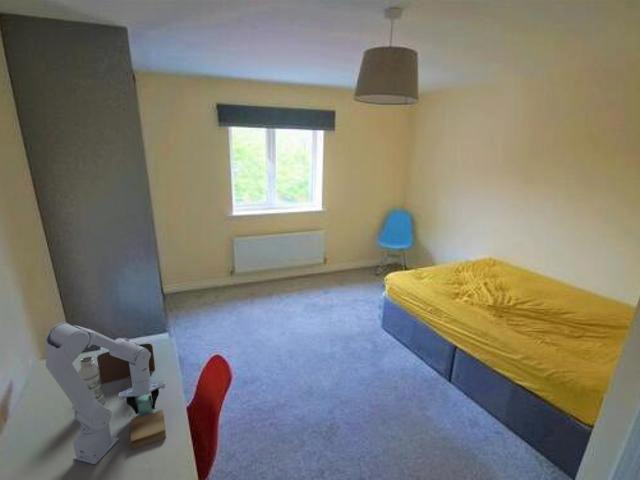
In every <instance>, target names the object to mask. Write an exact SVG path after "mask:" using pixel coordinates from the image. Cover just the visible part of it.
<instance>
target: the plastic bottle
mask: <svg viewBox="0 0 640 480" xmlns="http://www.w3.org/2000/svg"><path fill="white" fill-rule="evenodd" d="M77 372H78V373H79V375H80V376H81V378H82V380H83V381H84V383H85V384H86V386H87V387H88V389H89V390H90V392H91V393H92V395H93V396H94V398H95V399H96V400H97V401H98V402H99V403H100V404H101V405H103V406H104V404H105V402H106V397H105V394H104V391H103V389H102V384H101V379H100V370H99V367H98V365H97V364H95V363H94V358H93V357H92V356H86V357H83V358H81V359H80V369H79V370H78V371H77Z"/></svg>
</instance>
